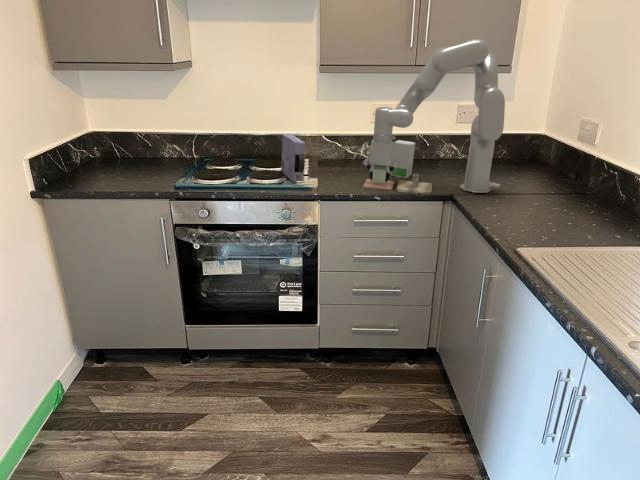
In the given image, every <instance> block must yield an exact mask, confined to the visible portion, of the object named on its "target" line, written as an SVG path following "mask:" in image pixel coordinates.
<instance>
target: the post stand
mask: <svg viewBox="0 0 640 480" xmlns="http://www.w3.org/2000/svg"><path fill="white" fill-rule="evenodd" d="M419 175H420V174H419V173H412V178H411V179H412V180H411V181H410V180H399V181H398V183H397V185H396V186H397V187H396V190H395V191H396V192H400V193H408V194H409V193H410V194H418V193H421V195H431V196H432V188H433V183H432V182H422V181H421V182H420V181H419Z"/></svg>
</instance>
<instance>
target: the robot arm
mask: <svg viewBox="0 0 640 480" xmlns="http://www.w3.org/2000/svg"><path fill="white" fill-rule="evenodd" d="M469 67H473V70H474V71H473V72H474V96H473V97H474V99H473V100H474V101H473V102H474V104H475V106H476V108H478V115H476V117H474V119H473V121H472V123H471V127H470V141H469V142H470V144H469V148H468V149H469V151H468V155H467V163H466V170H465V176H464V183H462V184H460V185H459V188H460V187H461V188H462V189H464V190H467V191H472V192H488V191H490V190H491V191H492V188H493V189H500V187H501V184H500V183H497V182H491V181H490V175H491V168H492V162H493V157H494V151H495V150H494V149H495V145H496V144H495V141H497V140H499V138H500V137H501V136H502V134H503V132H504V127H505V112H506V111H505V108H506V101H505V100H506V99H505V95H504V92H503V91H502V90H501V89H500V88H499V67H498V62H497V59H496V56H495V54H494V53H493V51H492V50H491V48H489V45H488V44H487V42H486V41H485V40H483V39H478V38H477V39H476V38H472V39H469V40H467V41H465V42H464V43H461V44H457V45H453V46H449V47H440V48H438V49H436V50H435V51H434V52H433V54H432V55H431V57H430V58H429V60H428V62H427V63H426V64H425V66H424V67H423V69H422V70H421V71H420V72H419V74H418V76H417V77H416V79H415V80H414V81H413V82H412V84H411V86H410V87H409V88H408V90H407V91H406V93H405V94H404V95H403V96H402V99H401V100H400V101H399V103H398V104H397V106H396V107H395V108H394V109H393V108H392V107H389V106H379V107H376V109H375V111H374V127H373V139H372V140H371V142H370V143H371V144H370V148H369V153H368V156H367V157H366V158H365V159H364V160H363V161H362V164H363V165H364V166H366V168H367V170H369V172H370V173H369V179H371V181H372V178H373V169H374V167H385V168H386V169H387V172H386V180H385V182H387V181H390V176H391V171H392V170H394V169H395V168H396V167H398V165H399V164H398V163H397V161H396V160H395V159H394V141H393V140H396V136H395V135H393V127H396V128H401V129H402V128H408V127H410V126H411V125H412V124H413V123H414V113H415V112H416V110H417V109H418V108H419V106H420V105H421V104H422V103H423V101H425V100H426V99H427V98H428V97H430V96H431V95H432V94H433V93H434V92H435V91H436V89H437V88H438V86H439V85H440V83H441V82H442V80H443V79H444V77H446V75H447V73H449V72H454V71H457V70H461V69H466V68H469ZM392 163H394V166H392Z"/></svg>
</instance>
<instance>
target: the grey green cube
mask: <svg viewBox="0 0 640 480" xmlns="http://www.w3.org/2000/svg"><path fill="white" fill-rule="evenodd" d="M386 172H387V169H386V167H385V166H374V169H373V178H372V181H375V182H385V180H386Z"/></svg>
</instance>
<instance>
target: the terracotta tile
mask: <svg viewBox="0 0 640 480" xmlns="http://www.w3.org/2000/svg"><path fill="white" fill-rule="evenodd" d="M394 184H395V181H393V180H388V181H387V182H375V181H371V179H370V178H366V180H365V182H364V184H363V186H362V188H364V189H373V190H374V189H375V190H383V191H384V190H386V191H392V190H393V188H394Z"/></svg>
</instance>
